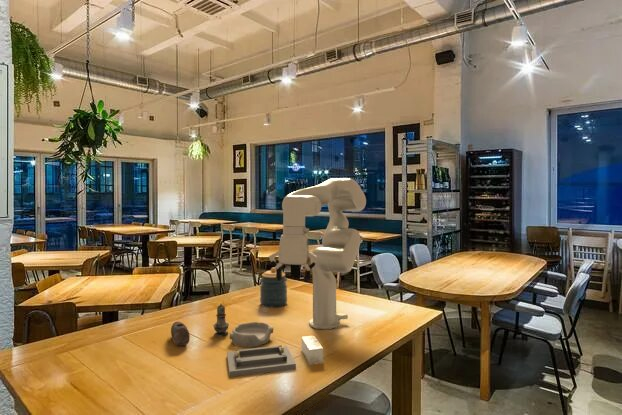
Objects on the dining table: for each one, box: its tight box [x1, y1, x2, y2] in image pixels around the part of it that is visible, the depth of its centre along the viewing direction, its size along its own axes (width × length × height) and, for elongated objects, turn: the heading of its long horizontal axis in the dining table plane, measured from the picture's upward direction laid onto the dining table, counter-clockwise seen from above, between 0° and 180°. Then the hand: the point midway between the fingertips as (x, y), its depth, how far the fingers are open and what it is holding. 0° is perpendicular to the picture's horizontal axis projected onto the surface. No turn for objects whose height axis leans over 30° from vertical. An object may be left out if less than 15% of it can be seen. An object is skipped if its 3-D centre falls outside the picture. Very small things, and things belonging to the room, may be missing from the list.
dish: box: [229, 321, 274, 348], centre depth 142 cm, size 14×14×5 cm
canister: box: [259, 266, 288, 308], centre depth 188 cm, size 13×13×18 cm
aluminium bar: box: [301, 335, 324, 365], centre depth 129 cm, size 4×11×5 cm, turn 14°
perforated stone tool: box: [170, 321, 190, 347], centre depth 142 cm, size 15×5×7 cm, turn 28°
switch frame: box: [226, 345, 297, 377], centre depth 124 cm, size 20×14×4 cm
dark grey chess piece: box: [212, 303, 230, 338], centre depth 148 cm, size 6×6×12 cm
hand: (293, 280), depth 135 cm, fingers open, 9 cm apart
